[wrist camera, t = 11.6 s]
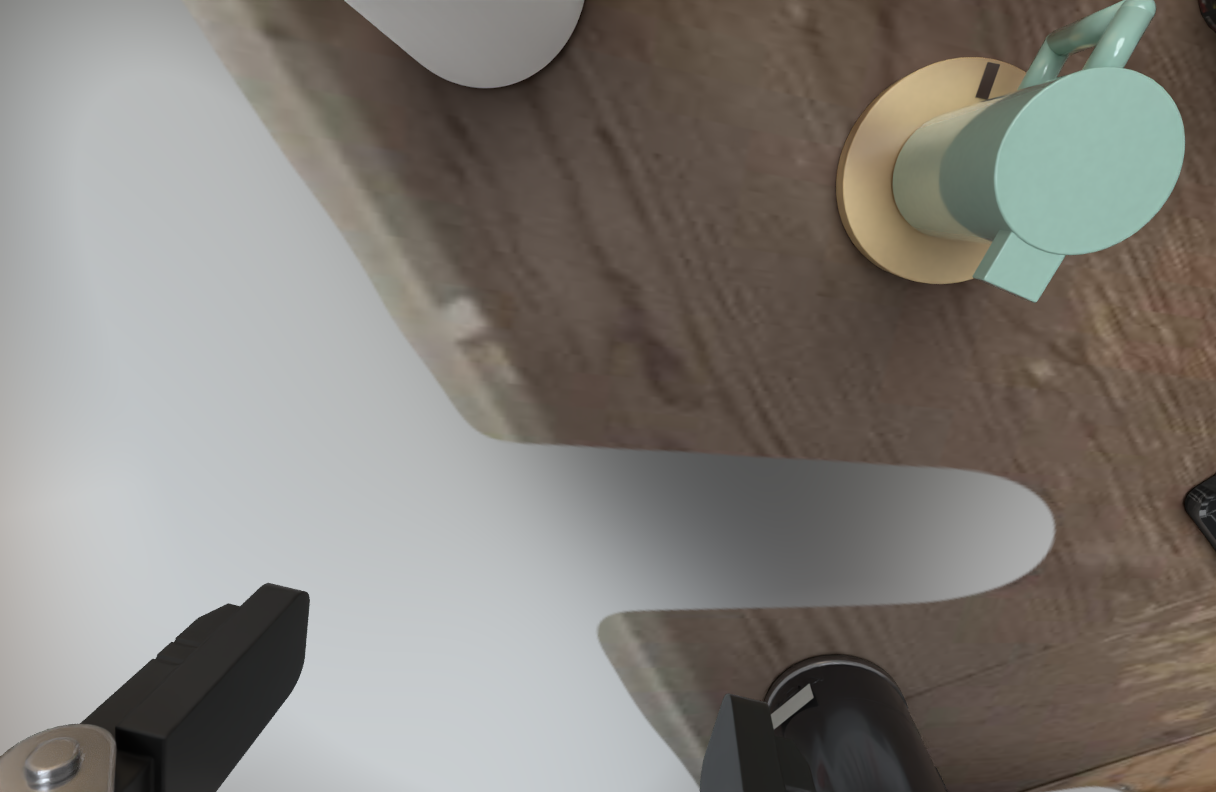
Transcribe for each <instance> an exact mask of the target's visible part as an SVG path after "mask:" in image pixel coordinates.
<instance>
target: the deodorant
mask: <svg viewBox="0 0 1216 792" xmlns="http://www.w3.org/2000/svg"><path fill="white" fill-rule="evenodd" d="M1199 5H1200V9H1201V13H1202V15H1203V17H1204V18H1205V20H1206V22H1207V23H1208V25H1209V27H1210V28H1212V29H1213V30H1214V31H1215V32H1216V0H1199Z"/></svg>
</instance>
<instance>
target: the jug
mask: <svg viewBox="0 0 1216 792" xmlns="http://www.w3.org/2000/svg"><path fill="white" fill-rule="evenodd" d="M1155 12H1156V4H1155V2H1154V0H1123V1H1121V2H1119V3H1117V4H1114V5H1112V6H1110V7H1107V8H1105V9H1103V10H1100V11H1098V12H1096V13H1094V14H1091V15H1089V16H1087V17H1084V18H1082V19H1080V20H1077V21H1075V22H1073V23H1071V24H1068V25H1066V26H1064V27H1061V28H1059V29H1057V30H1055V31H1053V32H1051V33H1050V34H1049V35H1048V36H1047V37H1046V39H1045V40H1044V42H1043V44H1042V46H1041V47H1040V49H1039V51H1038V53H1037V55H1036V56H1035V58H1034V60H1033V62H1032V64H1031V65H1030V67H1029V69H1028V71H1027V73H1026V74H1025V76H1024V78H1023V80H1022V82H1021V84H1020V85H1019V87H1018V89H1017V90H1016V91H1013V92H1010V93H1007V94H1004V95H1000V96H997V97H994V98H991V99H988V100H984V101H981V102H978V103H975V104H972V105H968V106H965V107H962V108H959V109H956V110H952V111H949V112H946V113H943V114H940V115H938V116H936V117H934V118H932V119H930V120H929V121H927V122H926V123H924V124H923V125H922V126H921V127H919V128H918V129H917V130H916V131H915V132H914V133H913V134H912V135H911V136H910V138H909V139H908V140H907V142H906V143H905V144H904V146H903V148H902V150H901V151H900V153H899V156H898V158H897V161H896V164H895V167H894V172H893V184H892V185H893V194H894V199H895V202H896V205H897V207H898V209H899V211H900V213H901V215H902V216H903V217H904V219H905V220H906V221H907V222H908V223H909V224H910V225H911V226H912V227H914V228H915V229H916V230H918V231H920V232H922V233H924V234H926V235H929V236H932V237H937V238H943V239H950V240H958V241H965V242H972V243H979V244H986V245H990V247H989V249H988V250H987V252H986V254H985V255H984V257H983V259H982V261H981V262H980V264H979V266H978V268H977V269H976V271H975V273H974V274H973V276H972V277H973V278H975V279H977V280H979V281H982V282H984V283H986V284H988V285H991V286H993V287H995V288H998V289H1000V290H1002V291H1005V292H1007V293H1009V294H1011V295H1014V296H1016V297H1018V298H1021V299H1023V300H1027V301H1031V302H1034V303H1036V302H1037V301H1038V299H1039V298H1040V296H1041V294H1042V293H1043V291H1044V290H1045V288H1046V286H1047V285H1048V283H1049V281H1050V280H1051V278H1052V277H1053V275H1054V273H1055V272H1056V270H1057V269H1058V267H1059V265H1060V264H1061V262H1062V261H1063V259H1064V257H1065V256H1066V255H1082V254H1087V253H1093V252H1096V251H1100V250H1103V249H1106V248H1108V247H1111V246H1113V245H1115V244H1118V243H1119V242H1121V241H1123V240H1125V239H1127V238H1128V237H1130V236H1131V235H1133V234H1134V233H1136V232H1137V231H1138V230H1140V229H1141V228H1142V227H1143V226H1144V225H1145V224H1147V223H1148V222H1149V221H1150V220H1151V219H1152V218H1153V217H1154V216H1155V214H1156V213H1157V212H1158V211H1159V210H1160V209H1161V207H1162V206H1163V205H1164V203H1165V202H1166V200H1167V199H1168V197H1169V195H1170V194H1171V192H1172V190H1173V189H1174V186H1175V184H1176V182H1177V179H1178V177H1179V174H1180V171H1181V168H1182V164H1183V158H1184V152H1185V134H1184V126H1183V122H1182V118H1181V115H1180V113H1179V110H1178V108H1177V106H1176V104H1175V103H1174V101H1173V99H1172V98H1171V96H1170V95H1169V94H1168V93H1167V92H1166V91H1165V89H1164V88H1163V87H1162V86H1160V85H1159V84H1158V83H1157V82H1155V81H1154V80H1153V79H1151V78H1149V77H1147V76H1145V75H1143V74H1141V73H1139V72H1136V71H1133V70H1130V69H1125V68H1124V66H1125V64H1126V63H1127V61H1128V59H1129V58H1130V56H1131V54H1132V53H1133V51H1134V49H1135V48H1136V46H1137V44H1138V43H1139V41H1140V39H1141V38H1142V36H1143V34H1144V33H1145V31H1146V29H1147V27H1148V26H1149V24H1150V22H1151V21H1152V19H1153V17H1154V15H1155ZM1095 46H1096V47H1095ZM1092 47H1095V48H1094V50H1093V52H1092V53H1091V55H1090V57H1089V59H1088V60H1087V62H1086V64H1085V66H1084V67H1083V69H1082V70H1081V71H1077V72H1074V73H1071V74H1068V75H1065V76H1061V77H1058V78H1057V76H1058V75H1059V73H1060V71H1061V69H1062V68H1063V66H1064V64H1065V62H1066V61H1067V59H1068V57H1069V56H1070V55H1072V54H1075V53H1078V52H1081V51H1084V50H1086V49H1089V48H1092Z"/></svg>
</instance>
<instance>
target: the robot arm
mask: <svg viewBox="0 0 1216 792" xmlns="http://www.w3.org/2000/svg"><path fill="white" fill-rule="evenodd" d="M309 603H310V599H309V594H308V593H307V592H305V591H301V590H296V589H292V588H288V587H283V586H280V585H275V584H271V583H267V584H264V585H263V586H262V587H260V588H259V589H258V590H257V591H256V592H255V593H254V594H253V595H252V596H251V597H250V598H249V599H247V600H246V601H245V602H244V603H243V604H242V605H241V606H236V605H232V604H226V605H224V606H222V607H220V608H218V609H216V610H214V611H212V612H210V613H208V614H205V615H203V616H201V617H199V618H198V619H197V620H195V621H194V622H193V623H192V624H191V625H190V626H189V627H188V628H186V629H185V630H184V631H183V632H182V633H181V634H180V635H179V636H177V637H176V640H175V642H171V643H170V644H169V645H167V646H166V647H165V648H164V649H163V650H162V651H161V652H160V653H159V654H158V655H157V657H156V659H152V660H151V661H150V662H148V663H147V664H146V665H145V666H144V667H143V668H142V669H141V670H139V672H137V673H136V674H135V675H134V676H133V677H132V678H131V679H129V680H128V681H127V682H126V683H125V684H124V685H123V686H122V687H121V688H119V689H118V690H117V691H116V692H115V693H114V694H113V695H112V696H110V697H109V698H108V699H107V700H106V701H105V702H104V703H103V704H101V705H100V706H99V707H98V708H97V709H96V710H95V711H94V712H93V713H92V714H90V715H89V716H88V717H87V718H86V719H85V720H84V721H82V722H81V723H80V724H69V725H63V726H58V727H54V728H51V729H47V730H45V731H42V732H39V733H36V734H34V735H32V736H30V737H28V738H26V739H25V740H22V741H21V742H20V743H17V744H16V745H15V746H13V747H12V748H10V749H9V750H7V751H6V752H5V753H4V754H3V755H2V756H0V792H216V791H217V790H218V788H219V787H220V786H221V784H222V783H223V782H224V781H225V779H226V778H227V777H228V775H229V774H230V772H231V771H232V770H233V769H234V767H235V766H236V765H237V763H238V762H239V761H240V759H241V758H242V757H243V756H244V754H245V753H246V752H247V750H248V749H249V748H250V746H251V745H252V744H253V742H254V741H255V740H256V738H257V737H258V736H259V734H260V733H261V732H262V730H263V729H264V728H265V726H266V725H267V724H268V723H269V721H270V720H271V719H272V717H273V716H274V715H275V713H276V712H277V711H278V709H279V708H280V707H281V706H282V704H283V703H284V702H285V700H286V699H287V698H288V696H289V695H290V693H291V692H292V690H293V689H294V687H295V685H296V683H297V681H298V679H299V676H300V674H301V671H302V668H303V664H304V659H305V648H306V638H307V626H308V615H309ZM700 792H948V791H947V789H946V787H945V785H944V783H943V780H942V778H941V776H940V774H939V772H938V770H937V768H936V767H935V766H934V764H933V762H932V760H931V758H930V756H929V754H928V752H927V749H926V747H925V745H924V743H923V741H922V739H921V736H920V734H919V732H918V730H917V728H916V725H915V723H914V721H913V719H912V717H911V715H910V713H909V711H908V707H907V704H906V701H905V699H904V697H903V695H902V693H901V690H900V688H899V687H898V685H897V683H896V682H895V681H894V680H893V678H892V677H891V676H890V675H889V674H888V673H886V672H885V671H884V670H883V669H881V668H880V667H878V666H877V665H875V664H873V663H871V662H869V661H866V660H863V659H860V658H857V657H852V656H846V655H825V656H819V657H814V658H811V659H808V660H805V661H802V662H800V663H798V664H796V665H794V666H792V667H791V668H789V669H788V670H786V671H785V672H784V673H783V674H782V675H780V677H779V678H778V679H777V680H776V681H775V682H774V683H773V685H772V686H771V688H770V690H769V692H768V694H767V696H766V699H765V702H762V701H758V700H754V699H749V698H745V697H741V696H737V695H733V694H726V695H725V697H724V699H723V701H722V704H721V707H720V710H719V713H718V716H717V719H716V722H715V725H714V729H713V732H712V735H711V738H710V741H709V744H708V747H707V750H706V753H705V756H704V760H703V765H702V771H701V779H700Z"/></svg>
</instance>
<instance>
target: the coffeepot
mask: <svg viewBox="0 0 1216 792" xmlns="http://www.w3.org/2000/svg"><path fill="white" fill-rule="evenodd" d="M344 1H345V2H347V3H348V4H349V5H350V6H351V7H353V8H354V9H355V10H356V11H357V12H359V13H360V14H361V15H362V16H363V17H365V18H366V19H367V20H368V21H369V22H371V23H372V24H373V25H374V26H375V27H377V28H378V29H379V30H380V31H381V32H383V33H384V34H385V35H386V36H387V37H389V38H390V39H391V40H392V41H393V42H395V43H396V44H397V45H398V46H399V47H401V48H402V49H403V50H404V51H405V52H407V53H408V54H409V55H410V56H411V57H413V58H414V59H415V60H416V61H418V62H419V63H420V64H421V65H423V66H424V67H425V68H427V69H428V70H429V71H431V72H433V73H434V74H436V75H438V76H440V77H442V78H444V79H446V80H448V81H450V82H453V83H456V84H460V85H463V86H468V87H475V88H496V87H503V86H507V85H511V84H514V83H517V82H520V81H522V80H524V79H526V78H528V77H530V76H532V75H534V74H535V73H537V72H538V71H540V70H541V69H542V68H544V67H545V66H546V65H547V64H548V63H549V62H551V61H552V60H553V59H554V58H555V56H556V55H557V54H558V53H559V52H560V51H561V49H562V48H563V47H564V45H565V44H566V42H567V41H568V39H569V38H570V36H571V34H572V32H573V31H574V28H575V26H576V24H577V22H578V19H579V17H580V14H581V11H582V8H583V4H584V0H344Z"/></svg>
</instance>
